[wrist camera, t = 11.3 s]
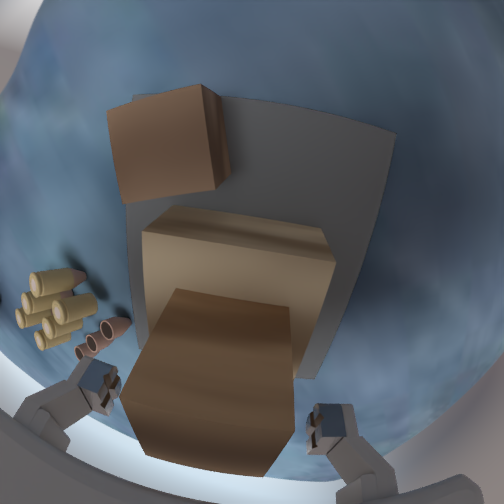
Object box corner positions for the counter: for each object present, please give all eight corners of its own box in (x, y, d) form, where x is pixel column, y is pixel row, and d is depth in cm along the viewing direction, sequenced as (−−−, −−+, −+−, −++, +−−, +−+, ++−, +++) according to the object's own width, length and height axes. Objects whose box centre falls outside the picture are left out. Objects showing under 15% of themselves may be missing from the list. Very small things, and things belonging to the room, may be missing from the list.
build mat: (137, 95, 12) (133, 94, 12) (392, 133, 12) (396, 133, 12) (141, 344, 20) (139, 349, 19) (313, 373, 20) (314, 379, 19)
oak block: (175, 287, 12) (118, 396, 6) (289, 306, 12) (294, 431, 6) (178, 361, 14) (145, 454, 8) (268, 377, 14) (262, 477, 8)
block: (147, 113, 12) (106, 111, 9) (221, 97, 12) (200, 83, 8) (158, 184, 14) (122, 204, 10) (231, 173, 13) (215, 189, 10)
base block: (173, 204, 14) (141, 231, 11) (320, 228, 14) (336, 262, 11) (173, 340, 18) (156, 381, 15) (282, 359, 18) (283, 404, 15)
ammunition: (9, 318, 15) (76, 385, 17) (26, 273, 12) (112, 362, 15) (40, 289, 19) (98, 349, 21) (67, 242, 17) (138, 318, 19)
